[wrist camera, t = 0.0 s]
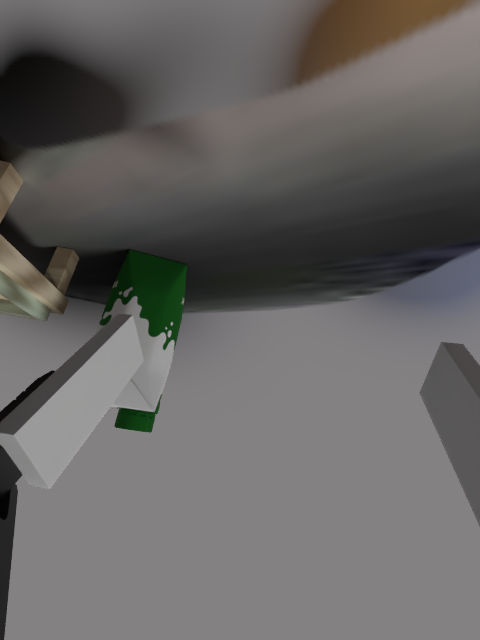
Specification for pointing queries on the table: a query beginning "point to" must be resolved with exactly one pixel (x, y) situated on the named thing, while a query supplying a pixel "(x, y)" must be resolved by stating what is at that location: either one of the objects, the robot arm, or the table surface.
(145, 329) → the milk carton
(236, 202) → the table surface
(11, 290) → the stool
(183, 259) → the table surface
